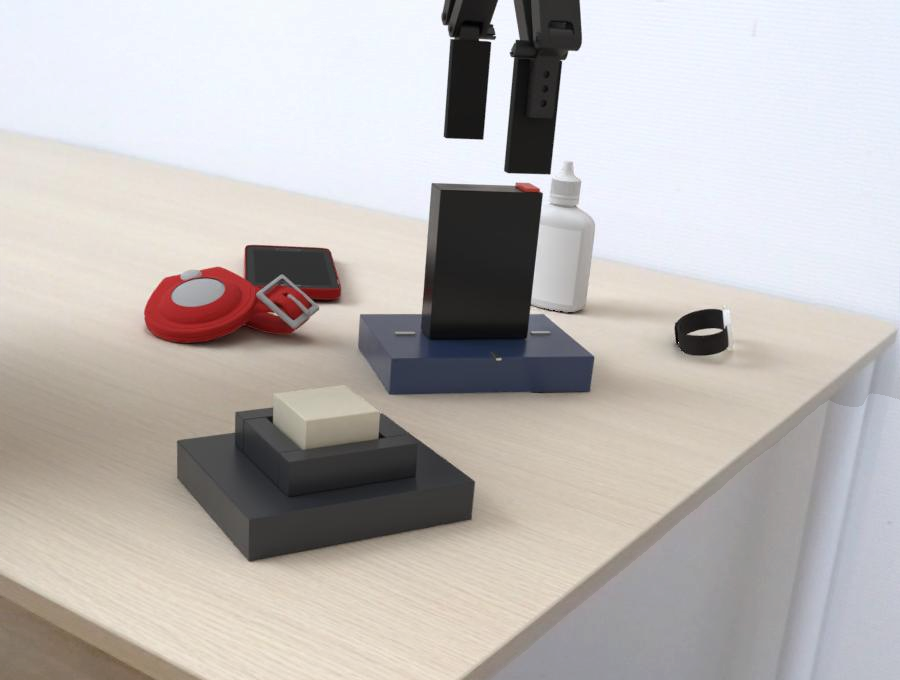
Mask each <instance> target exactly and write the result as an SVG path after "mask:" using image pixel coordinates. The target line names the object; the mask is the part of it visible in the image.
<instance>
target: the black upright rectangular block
mask: <svg viewBox="0 0 900 680" xmlns="http://www.w3.org/2000/svg"><path fill="white" fill-rule="evenodd" d="M543 196H544V193H543V192H542V191H541V188H539V187H538V186H536V185H535V184H532V183H531V182H518V181H517V182H515V185H509V184H508V185H507V184H506V185H503V184H473V183H471V184H470V183H447V182H445V183H443V182H432V183H431V186H430V198H429V199H430V200H429V212H428V225H427V226H428V227H427V241H426V253H425V254H426V255H425V268H424V280H423V292H422V293H423V294H422V307H421V309H422V310H421V314H422V319H421V329H422V331H423V332H424V333H425V334H426V335H427V336H428V338H429V339H526V338H527V334H528V325H529V316H530V314H531V306H532V305H531V298H532V289H533V280H534V271H535V262H536V252H537V243H538V234H539V225H540V216H541V207H542V206H543Z"/></svg>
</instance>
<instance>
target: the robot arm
mask: <svg viewBox="0 0 900 680" xmlns="http://www.w3.org/2000/svg"><path fill="white" fill-rule="evenodd" d="M498 3H499V0H444V3H443V7H442V12H441V16H440V18H441V22H442V25H443V26H445V27H446V26H447V32H448V37H449V54H448V66H447V67H448V69H447V82H446V97H445V108H444V109H445V111H444V123H443V124H444V125H443V138H444V139H454V140H455V139H456V140H479V141H481V140H482V141H484V137H485V126H486V125H485V124H486V114H487V113H486V112H487V102H488V88H489V87H488V86H489V77H490V65H491V64H490V63H491V51H492V41H495V40H496V39H497V35H496V30H495V27H494V24H493V23H492V21H493V17H494V14H495V11H496V8H497V4H498ZM513 6H514V7H513V8H514V13H515V19H516V24H517V30H518V31H517V32H518V38H519V39H515V42H514V43H513V45H512V46H511V49H510V51H509V56H510V57H511V58H513V67H512V75H511V77H512V78H511V89H510V100H509V111H508V121H507V132H506V144H505V155H504V166H503V172H505V173H506V174H514V175H515V174H516V175H517V174H518V175H519V174H520V175H551V174H552V173H551V172H552V164H553V155H554V145H555V137H556V125H557V118H558V117H557V116H558V106H559V97H560V89H561V88H560V87H561V80H562V79H561V78H562V69H563V61H566V60H567V58H568V55H569V52H578V51H579V50H580V49H581V47H582V44H583V31H582V29H583V28H582V15H581V0H513Z"/></svg>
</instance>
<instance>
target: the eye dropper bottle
mask: <svg viewBox="0 0 900 680" xmlns="http://www.w3.org/2000/svg"><path fill="white" fill-rule="evenodd" d="M581 187H582V180H581V178H579V177H578V176H576V175H575V172H574V161H572V160H564V161H563V163H562V168H561V170H560V172H559V173H558V174H556V175H554V176H552V177H551V181H550V189H549V199H548V202H550V203H549V204H544V205H542V207H541V216H540V225H539V234H538V243H537V252H536V262H535V271H534V280H533V289H532V298H531V306H534V307H537V308H541V309H544V308H545V310H548V309H549V311H553V310H555V311H554V312H560V311H563V312H562V313H568V312H572V313H575V312H578V311H581V310H583V309H584V308H585V307H586V305H587V298H588V292H589V282H590V276H591V268H592V259H593V250H594V242H595V234H596V223H595V220H594V218H593V217H592V216H591V215H589V213H587V212H586V211H584V210H583V209H581V208H579V206H578V205H579V204H580V196H581V195H580V194H581Z"/></svg>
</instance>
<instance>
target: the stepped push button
mask: <svg viewBox="0 0 900 680" xmlns="http://www.w3.org/2000/svg"><path fill="white" fill-rule="evenodd" d="M176 473H177V474H176V479H177V480H178V481H179V482H180V483H181V484H182V485H183V486H184V488H185V489H186V490H187V492H189V494H190V495H191V496H192V497H193V498H194V499H195V500H196V502H197V503H198V504H199V505H200V506H201V508H202V509H203V510H204V511H205V512H206V513H207V515H208V516H209V517H210V518H211V519H212V521H213V522H214V523H215V524H216V525H217V526H218V527H219V529H220V530H221V531H222V532H223V533H224V535H225V536H226V537H227V538H228V539H229V540H230V541H231V542H232V543H233V545H234V546H235V547H236V548H237V550H238V551H239V552H240V553H241V554H242V556H243V557H244V558H245V559H246V560H247V561H248V562H249V563H250V562H256V561H260V560H267V559H271V558H272V559H273V558H276V557H281V556H287V555H291V554H297V553H303V552H308V551H313V550H318V549H323V548H329V547H333V546H335V547H336V546H339V545H340V546H341V545H344V544H345V545H346V544H350V543H356V542H361V541H366V540H370V539H377V538H382V537H387V536H393V535H397V534H403V533H408V532H413V531H419V530H425V529H429V528H434V527H439V526H444V525H449V524H456V523H461V522H467V521H471V520H472V519H473V508H474V499H475V498H474V496H475V487H476V481H475V480H474V479H473V478H472V477H470V476H469V475H467V474H466V473H464V471H462V470H460V469H459V468H457V466H455V465H454V464H452V463H451V462H449V460H447V459H446V458H444V457H443V456H442V455H440V454H439V453H438V452H436V451H434V450H433V449H432V448H430V446H428V445H426V444H425V443H424V442H422V441H421V440H420V439H418V438H417V437H415V436H414V435H413V434H411V433H410V432H409V431H407V430H406V429H404V428H403V427H402V426H401V425H399V424H398V423H396V422H395V421H394V420H392V419H391V418H390V417H388V416H387V415H385V413H383V412H382V413H381V412H380V420H379V436H378V439H374V440H367V441H360V442H353V443H346V444H339V445H332V446H325V447H318V448H311V449H304V450H302V449H301V448H299V447H298V446H297V445H296V444H295V443H294V442H293V441H292V440H290V439H289V438H288V437H287V436H286V435H285V434H284V433H283V432H281V431H280V430H279V429H278V428H277V427H276V426H275V425H274V424H273V406H272V407H263V408H257V409H256V408H255V409H247V410H240V411H235V412H234V432H230V433H229V432H228V433H221V434H214V435H205V436H197V437H191V438H183V439H178V440H176Z"/></svg>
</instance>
